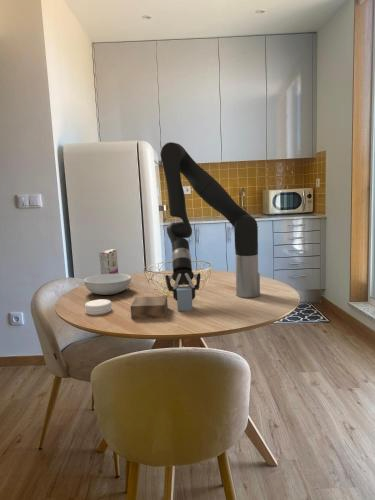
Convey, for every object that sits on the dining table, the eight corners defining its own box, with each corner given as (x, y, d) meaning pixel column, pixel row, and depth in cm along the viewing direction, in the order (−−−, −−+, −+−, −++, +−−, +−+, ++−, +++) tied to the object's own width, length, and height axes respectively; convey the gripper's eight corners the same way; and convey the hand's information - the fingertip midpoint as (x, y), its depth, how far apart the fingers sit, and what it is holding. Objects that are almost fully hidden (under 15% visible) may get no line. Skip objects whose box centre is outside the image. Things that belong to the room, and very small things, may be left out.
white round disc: (106, 315, 144) (105, 306, 143) (81, 315, 145) (80, 306, 145) (115, 307, 153) (115, 298, 153) (91, 307, 155) (91, 298, 154)
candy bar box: (110, 280, 202) (107, 249, 200) (119, 280, 201) (117, 249, 199) (101, 285, 192) (98, 252, 189) (110, 285, 191) (108, 252, 188)
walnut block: (167, 308, 149) (167, 296, 148) (165, 318, 137) (164, 305, 137) (136, 309, 150) (135, 297, 149) (131, 319, 138) (130, 306, 137)
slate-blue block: (191, 306, 150) (190, 286, 149) (192, 310, 144) (191, 289, 143) (177, 307, 150) (176, 286, 148) (177, 311, 144) (176, 290, 143)
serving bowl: (123, 299, 165) (122, 283, 164) (77, 298, 169) (75, 283, 168) (137, 287, 185) (136, 273, 184) (96, 287, 189) (95, 273, 188)
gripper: (163, 257, 151) (165, 295, 141) (200, 255, 152) (204, 292, 142) (164, 268, 157) (165, 305, 147) (199, 266, 158) (203, 302, 148)
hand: (184, 298), depth 145 cm, fingers closed on slate-blue block, 5 cm apart
